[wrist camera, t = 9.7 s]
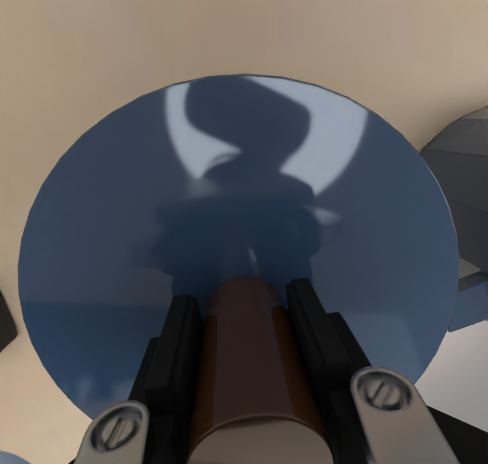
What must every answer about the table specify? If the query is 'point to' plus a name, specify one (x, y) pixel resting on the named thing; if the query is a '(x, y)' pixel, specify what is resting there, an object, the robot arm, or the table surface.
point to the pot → (466, 208)
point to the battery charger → (5, 327)
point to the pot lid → (236, 253)
